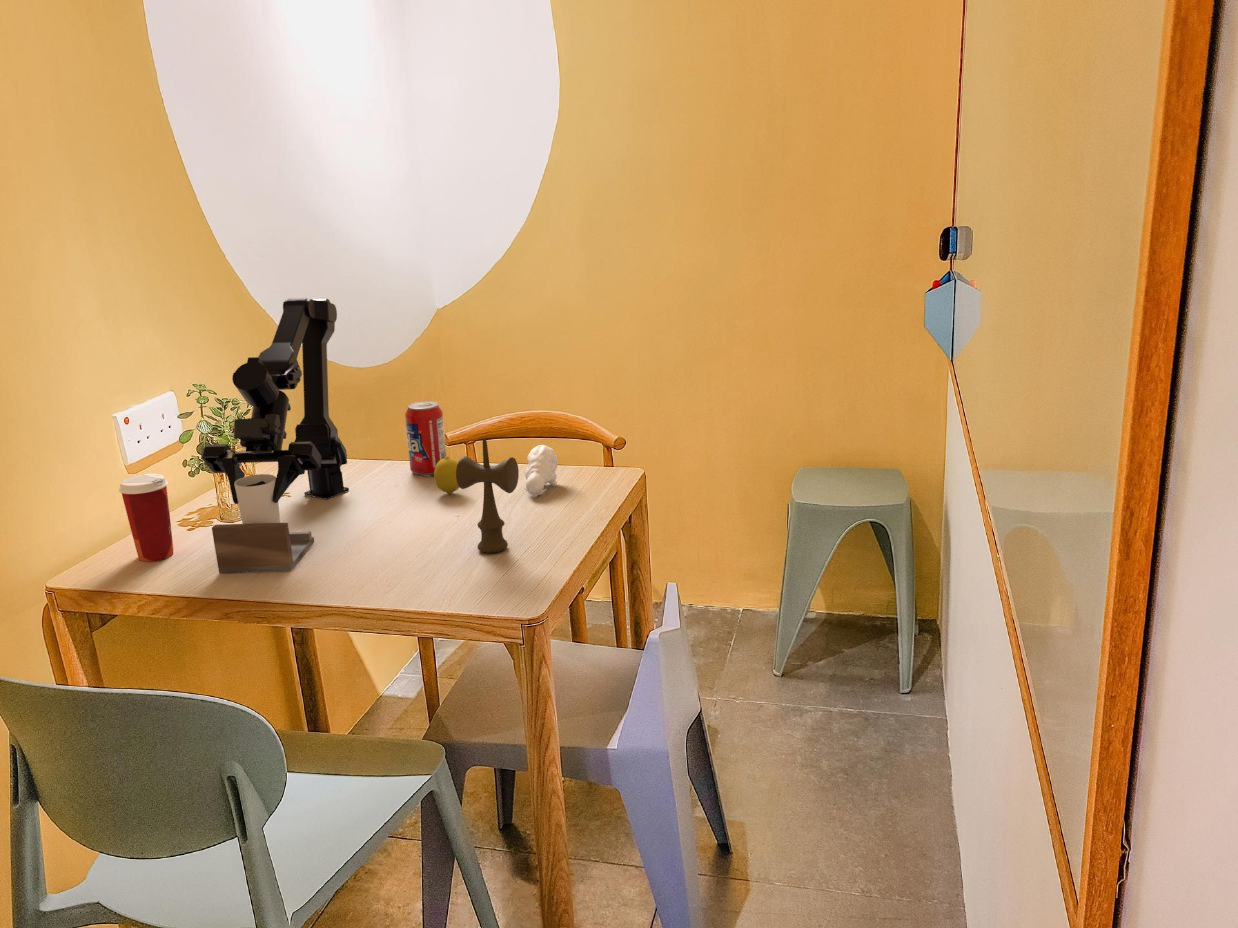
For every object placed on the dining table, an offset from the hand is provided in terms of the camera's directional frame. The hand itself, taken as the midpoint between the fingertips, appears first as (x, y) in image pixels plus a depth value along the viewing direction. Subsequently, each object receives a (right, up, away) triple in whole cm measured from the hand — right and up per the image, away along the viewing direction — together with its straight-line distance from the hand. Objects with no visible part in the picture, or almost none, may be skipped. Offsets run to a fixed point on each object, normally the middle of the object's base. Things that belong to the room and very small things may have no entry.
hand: (255, 502), depth 166 cm
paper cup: (-20, -10, +8) cm, 24 cm away
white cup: (0, -6, +3) cm, 7 cm away
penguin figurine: (+45, +1, +35) cm, 57 cm away
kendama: (+39, -8, +5) cm, 40 cm away
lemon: (+27, 0, +34) cm, 43 cm away
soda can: (+20, +4, +49) cm, 53 cm away
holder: (0, -10, +5) cm, 11 cm away
